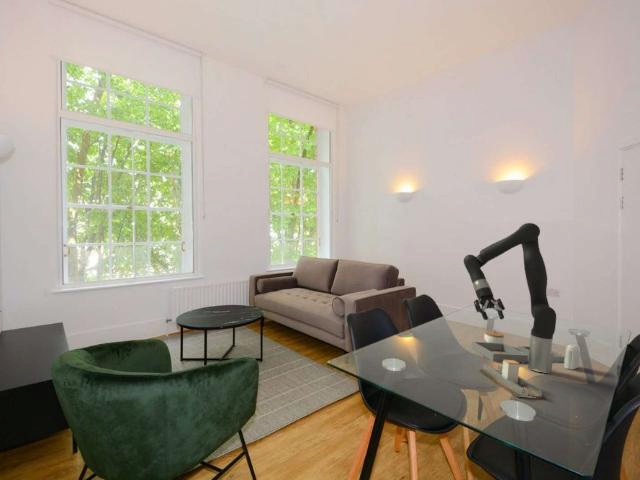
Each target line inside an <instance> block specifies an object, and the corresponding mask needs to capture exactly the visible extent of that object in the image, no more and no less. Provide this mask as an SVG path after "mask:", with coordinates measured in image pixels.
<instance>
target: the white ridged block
mask: <svg viewBox="0 0 640 480" xmlns="http://www.w3.org/2000/svg"><path fill="white" fill-rule="evenodd" d="M580 354H581V347H580V346H579V345H577V344H575V343H574V344H573V343H571V344H569V345H567V346H566V347H565V349H564V356H565V359H564V362H563V367H564V369H566V370H575V369H578V368H579V367H580V356H581V355H580Z"/></svg>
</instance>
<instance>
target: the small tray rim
mask: <svg viewBox="0 0 640 480" xmlns="http://www.w3.org/2000/svg"><path fill="white" fill-rule="evenodd" d="M529 349H530V345H529V346H526V345H519V346H518V351H520V352H522V353H524V354H526V355H528V357H529ZM551 353H552V354H553V361H552V363H553V362H554V363H555V362H556V363H564V359H565V355H563V354H559V353H558V352H555V351H553V350H552V351H551Z"/></svg>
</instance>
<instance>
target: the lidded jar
mask: <svg viewBox="0 0 640 480" xmlns="http://www.w3.org/2000/svg"><path fill="white" fill-rule="evenodd" d="M483 336H484V337H483V338H484V342H488V343H504V342H503V341H504V337H505V335H504V333H501V332H498V331H496V330H485V331H484V335H483Z"/></svg>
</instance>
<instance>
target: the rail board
mask: <svg viewBox="0 0 640 480" xmlns="http://www.w3.org/2000/svg"><path fill="white" fill-rule="evenodd" d="M502 370H503V365H501V364H498V365H497V369H493V368H492V367H490V366H489V365H488V364H484V363H483V365H482V369H479V373H481V374H483V375H484V376H486V377H487V378H489V380H491V381H493V382H494V383H495V384H497V385H498V386H500V387H501V388H503V389H504V390H506V391H507V392H508V391H509V392H508V393H510V392H511V393H514V394H516V395H518V396H521V395H524V393H525V389H523V388H524V387H525V388H527V389H529V390H530V391H531V395H529V394H530V393H529V394H528V396H532V397H536V398H541V399H540V400H545V399H546V396H545V395H544V394H543V389H541V388H539V387H537V386H536V385H535V384H533V383H531V382H529V381H528V380H526V379H524V378H522V376H519V375H518V384H515V383H514V382H512V381H511V380H509V379H508V378H506V377H505V376H503V375H502ZM511 393H510V394H511Z"/></svg>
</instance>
